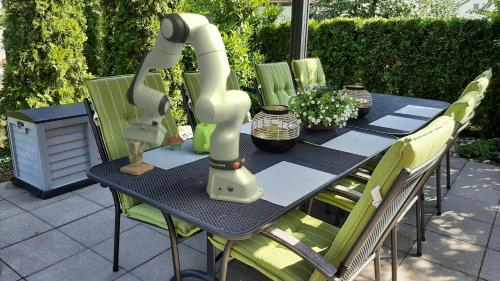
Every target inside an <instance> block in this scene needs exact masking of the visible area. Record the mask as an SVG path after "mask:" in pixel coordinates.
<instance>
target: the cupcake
mask: <svg viewBox="0 0 500 281" xmlns="http://www.w3.org/2000/svg"><path fill="white" fill-rule="evenodd" d="M175 134H176V135H174V136H170V137H168V138H167V140H166V144H168V145H169V147H170V149H172V150H171V151H173V150H178V151H181V149H182V146H183V144H184V138H183V137H181V136H179V135H178V134H179V128H176V133H175Z"/></svg>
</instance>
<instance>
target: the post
mask: <svg viewBox="0 0 500 281" xmlns="http://www.w3.org/2000/svg"><path fill="white" fill-rule="evenodd" d="M127 142H128V141H127ZM142 146H143V144H142V142H141V141H135V140H134V141H131V142H128V148H129V150H128V155H129V163H131V164H132V163H136V164H137V163H140V162H141V163H143V162H144V151H143V152H142V153H139V152H138V149H139V148H141V147H142Z"/></svg>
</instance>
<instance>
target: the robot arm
mask: <svg viewBox="0 0 500 281" xmlns="http://www.w3.org/2000/svg"><path fill="white" fill-rule="evenodd" d="M223 40H224V39H223V38H222V36H221V33H220V31H219V29H218V27H217V26H216V24H215V22H214V20H213V18H212V17H210V16H209V15H207V14H203V13H192V12H172V13H167V14H165V15H164V16H163V17H162V18H161V21H160V27H159V30H158V32H157V34H156V38H155V40H154V41H155V42H154V44H153V48H152V49H151V51H147V52H145V54H144V55H143V56H142V58H141V59H140V62H139V63H138V66H137V69H136V71H135V73H134V76H133V78H132V80H131V83H130V85H129V87H128V89H127V90H126V93H125V98H126V101H127V102H128V104H129V105H131V106H134V107H139V108H141V109H143V110H145V112H144V113H143V114H142V116H141V117H140V120H139V121H138V123H137V122H133V123H130V124H128V126H127V127H126V129H125V130H124V131H123V133H122V135H121V138H122V140H124V141H125V142H131V141H134V140H135V141H141V142H142V147H141V148H139V149H138V152H139V153H142V152H143V153H144V151H145V150H146V149H148V148H149V147H150V146H151V147H156V148H158V147H160V146H161V145H162V144H163V141H164V139H165V134H166V133H167V132H168V130H167V128H165V127H164V126H163V124H162V120H163V119H164V117H165V116H166V115H167V113H168V111H169V109H170V106H171V98H170V96H169V95H168V94H167V93H164V92H162V91H159V90H158V89H154V88H152V87H148V86H146V85H145V84H144V82H145V79H146V78H147V74H148V72H149V71H150V70H168V69H171V68H174V67H175V66H176V65H178V64H179V61H180V59H181V56H182V52H183V48H184V44H190V45H192V47H193V49H194V53H195V57H196V58H195V59H196V62H197V66H198V70H199V75H200V91H199V95H198V96H199V97H198V98H197V99H196V101H195V103H194V104H195V105H194V114H195V116H196V119H197V120H198V121H199V122H200V123H204V124H217V125H216V127H215V129H214V131H213V132H212V134H211V135H210V152H209V155H208V168H209V173H208V181H207V186H206V189H205V192H206V194H208V196H209V198H210V200H217V201H218V200H219V201H225V202H233V203H240V204H251V203H254V202H256V201H258V200H259V199H261V197H263V195H264V189H263V188H262V187H259V185H258V179H257V177H256V176H255V175H254V174H253V173H251V171H250V170H248V169H247V168H246V167H245V166H244V164H243V163H244V162H245V158H244V157H243V159H242V158H241V156H240V154H239V152H240V150H239V149H240V148H239V147H240V134H241V130H242V126H243V123H244V120H245V118H246V115H247V114H248V112H250V109H251V108H252V107H251V106H252V101H251V98H250V96H249V94H248V93H247V92H246V91H244V90H239V89H230V90H227V80H228V78H229V76H230V75H231V67H230V63H229V58H228V54H227V51H226V46H225V43H224V42H223ZM127 150H128V151H129V147H128V148H127Z"/></svg>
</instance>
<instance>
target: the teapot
mask: <svg viewBox="0 0 500 281" xmlns="http://www.w3.org/2000/svg"><path fill="white" fill-rule="evenodd" d="M216 125H217V124H204V123H202V122H200V123H198V124H197V125H196V126H195V128H194V132H193V134H192V140H191V141H192V142H191V144H192V147H193V149H194V150H195V152H196V154H197V153H202V154H203V153H204V152H209V153H210V135H211V134H212V132H213V131H214V129H215V127H216Z"/></svg>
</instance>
